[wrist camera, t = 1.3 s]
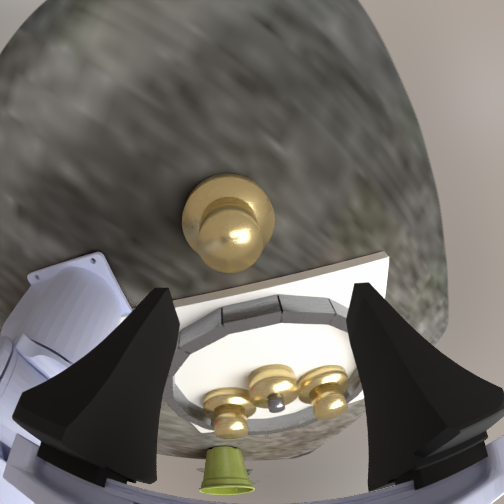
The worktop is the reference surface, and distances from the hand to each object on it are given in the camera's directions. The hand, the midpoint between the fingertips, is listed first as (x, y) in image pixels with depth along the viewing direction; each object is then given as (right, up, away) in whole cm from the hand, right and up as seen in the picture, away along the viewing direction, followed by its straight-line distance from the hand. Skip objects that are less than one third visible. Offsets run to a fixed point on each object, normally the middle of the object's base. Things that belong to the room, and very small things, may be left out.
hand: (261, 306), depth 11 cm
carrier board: (+2, -11, +17) cm, 20 cm away
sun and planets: (+2, -13, +17) cm, 22 cm away
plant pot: (-5, -33, +29) cm, 45 cm away
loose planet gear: (-2, +5, +8) cm, 10 cm away
